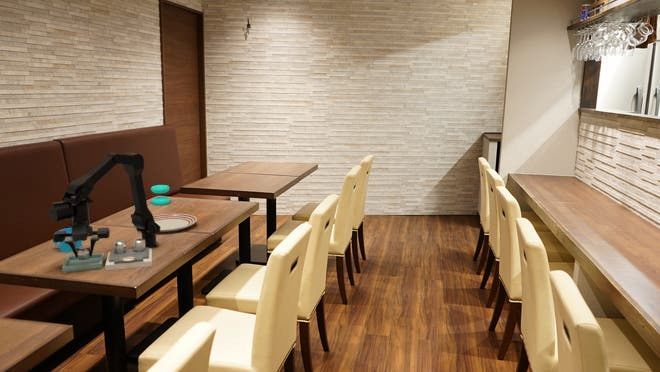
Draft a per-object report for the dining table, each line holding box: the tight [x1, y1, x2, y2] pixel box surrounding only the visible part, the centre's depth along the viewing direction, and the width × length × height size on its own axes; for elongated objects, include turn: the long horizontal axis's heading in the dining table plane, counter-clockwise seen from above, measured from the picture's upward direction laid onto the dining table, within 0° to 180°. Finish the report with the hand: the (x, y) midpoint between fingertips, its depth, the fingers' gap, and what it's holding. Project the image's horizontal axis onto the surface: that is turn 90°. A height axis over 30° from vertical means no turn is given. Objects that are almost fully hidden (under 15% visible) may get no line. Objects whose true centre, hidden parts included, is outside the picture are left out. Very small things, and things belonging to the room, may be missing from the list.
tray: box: [61, 252, 106, 273], centre depth 199 cm, size 13×13×2 cm
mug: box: [53, 227, 83, 254], centre depth 218 cm, size 12×8×8 cm
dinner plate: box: [153, 213, 198, 233], centre depth 253 cm, size 27×27×3 cm
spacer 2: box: [113, 239, 127, 254], centre depth 206 cm, size 4×4×4 cm
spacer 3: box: [132, 238, 146, 252], centre depth 208 cm, size 4×4×4 cm
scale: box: [104, 247, 153, 272], centre depth 203 cm, size 17×16×4 cm
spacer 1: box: [77, 245, 91, 260], centre depth 199 cm, size 4×4×4 cm
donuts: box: [150, 184, 171, 206], centre depth 301 cm, size 10×10×10 cm
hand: (84, 256), depth 199 cm, fingers closed on spacer 1, 4 cm apart
